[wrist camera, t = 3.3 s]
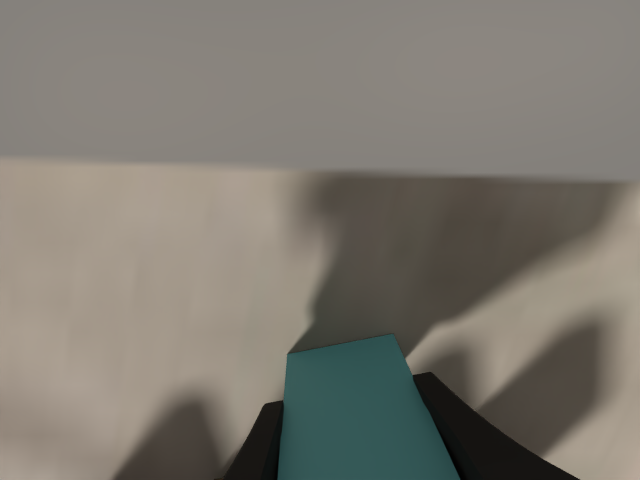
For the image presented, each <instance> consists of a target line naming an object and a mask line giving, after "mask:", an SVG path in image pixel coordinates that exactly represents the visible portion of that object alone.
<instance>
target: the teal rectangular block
mask: <svg viewBox="0 0 640 480" xmlns="http://www.w3.org/2000/svg"><path fill="white" fill-rule="evenodd" d="M277 480H460V478H459V476H458V473H457V471H456V469H455V467H454V465H453V463H452V460H451V458H450V456H449V454H448V452H447V450H446V447H445V445H444V443H443V441H442V439H441V436H440V434H439V432H438V430H437V428H436V426H435V423H434V421H433V419H432V417H431V415H430V413H429V411H428V410H427V408H426V406H425V404H424V403H423V401H422V399H421V396H420V394H419V392H418V390H417V388H416V385H415V383H414V381H413V376H412V374H411V371H410V369H409V367H408V365H407V363H406V360H405V358H404V356H403V354H402V352H401V350H400V347H399V345H398V343H397V341H396V339H395V337H394V334H389V335H384V336H379V337H374V338H368V339H363V340H358V341H353V342H348V343H342V344H337V345H332V346H327V347H322V348H316V349H311V350H306V351H301V352H296V353H291V354H287V365H286V377H285V390H284V413H283V426H282V433H281V441H280V454H279V466H278V479H277Z"/></svg>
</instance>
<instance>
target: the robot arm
mask: <svg viewBox="0 0 640 480" xmlns="http://www.w3.org/2000/svg"><path fill="white" fill-rule="evenodd" d="M413 381H414V383H415V385H416V388H417V390H418V392H419V394H420V396H421V399H422V401H423V403H424V404H425V406H426V408H427V410H428V411H429V413H430V415H431V417H432V419H433V421H434V423H435V426H436V428H437V430H438V432H439V434H440V436H441V439H442V441H443V443H444V445H445V447H446V450H447V452H448V454H449V456H450V458H451V460H452V463H453V465H454V467H455V469H456V471H457V473H458V476H459V478H460V480H580V479H578V478H576V477H574V476H572V475H571V474H569V473H567V472H565V471H563V470H561V469H560V468H558V467H556V466H554V465H552V464H550V463H549V462H547V461H545V460H544V459H542V458H540V457H539V456H537V455H535V454H534V453H532V452H531V451H529V450H527V449H526V448H524V447H523V446H521V445H520V444H518V443H517V442H515V441H514V440H512V439H511V438H509V437H508V436H507V435H505V434H504V433H502V432H501V431H500V430H498V429H497V428H496V427H494V426H493V425H492V424H490V423H489V422H488V421H486V420H485V419H484V418H483V417H481V416H480V415H479V414H478V413H476V412H475V411H474V410H473V409H472V408H470V407H469V406H468V405H467V404H466V403H464V402H463V401H462V400H461V399H460V398H459V397H458V396H456V395H455V394H454V393H453V392H452V391H451V390H450V389H449V388H448V387H447V386H446V385H444V384H443V383H442V382H441V381H440V380H439V379H438V378H437V377H436V376H435V375H434V374H433V373H431V372H427V373H422V374H417V375H413ZM283 413H284V403H283V400H282V401H276V402H271V403H266V404H265V405H264V406H263V407H262V409H261V411H260V414H259V416H258V418H257V420H256V422H255V424H254V426H253V427H252V429H251V431H250V433H249V435H248V437H247V439H246V441H245V442H244V444H243V446H242V448H241V450H240V451H239V453H238V455H237V457H236V458H235V460H234V462H233V463H232V465H231V467H230V468H229V470H228V471H227V473H226V475H225V476H224V478H223V479H222V480H277V479H278V466H279V454H280V441H281V433H282V426H283Z"/></svg>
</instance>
